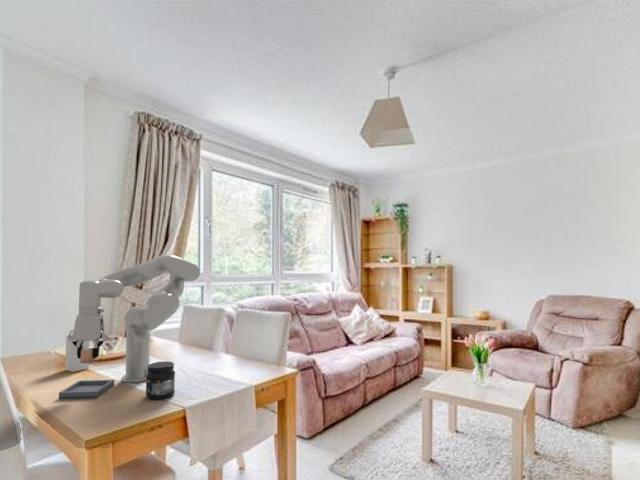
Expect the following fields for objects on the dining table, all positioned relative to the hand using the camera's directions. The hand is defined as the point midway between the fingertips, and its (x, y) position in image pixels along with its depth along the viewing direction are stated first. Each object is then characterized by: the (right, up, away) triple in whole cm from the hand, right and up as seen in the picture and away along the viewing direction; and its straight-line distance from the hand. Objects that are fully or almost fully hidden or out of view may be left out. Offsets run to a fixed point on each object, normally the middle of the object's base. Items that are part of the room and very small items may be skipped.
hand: (88, 357), depth 153 cm
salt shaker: (0, -2, 0) cm, 2 cm away
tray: (0, -14, 0) cm, 14 cm away
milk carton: (-23, -15, +30) cm, 41 cm away
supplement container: (+31, -14, -4) cm, 34 cm away
